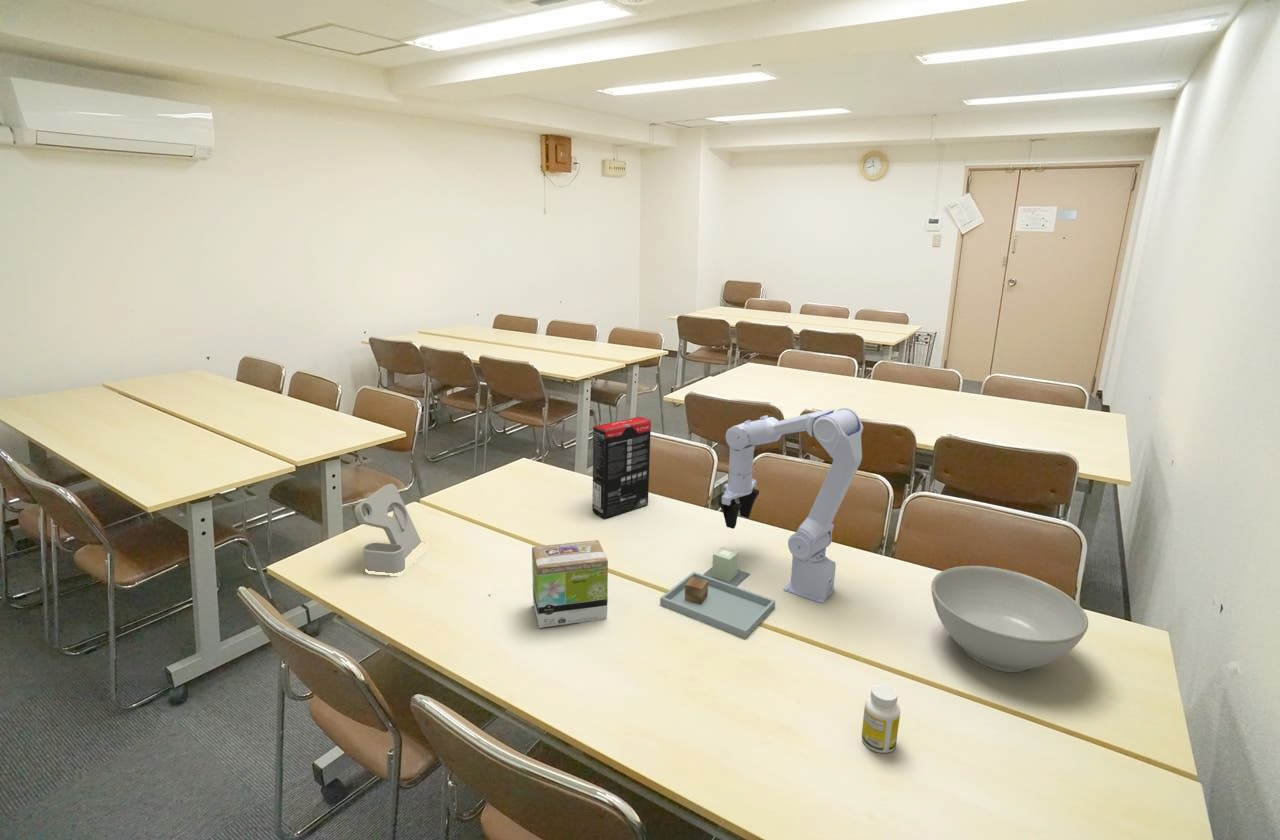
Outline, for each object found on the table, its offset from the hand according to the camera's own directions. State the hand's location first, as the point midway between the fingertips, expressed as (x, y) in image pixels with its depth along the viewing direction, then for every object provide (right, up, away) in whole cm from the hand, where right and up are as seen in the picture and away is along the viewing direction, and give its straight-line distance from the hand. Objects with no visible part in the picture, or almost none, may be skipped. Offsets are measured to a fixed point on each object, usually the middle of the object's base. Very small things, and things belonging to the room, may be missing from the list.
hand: (737, 521), depth 163 cm
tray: (-7, -16, -18) cm, 25 cm away
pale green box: (-4, -12, -6) cm, 14 cm away
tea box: (-40, -17, -20) cm, 48 cm away
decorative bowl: (+47, -21, -33) cm, 61 cm away
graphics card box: (-30, -1, +32) cm, 44 cm away
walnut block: (-12, -15, -15) cm, 24 cm away
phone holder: (-86, -10, +2) cm, 86 cm away
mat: (-4, -12, -6) cm, 14 cm away
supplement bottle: (+15, -28, -56) cm, 64 cm away
